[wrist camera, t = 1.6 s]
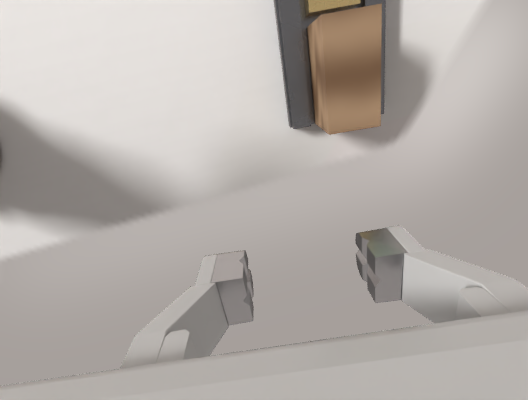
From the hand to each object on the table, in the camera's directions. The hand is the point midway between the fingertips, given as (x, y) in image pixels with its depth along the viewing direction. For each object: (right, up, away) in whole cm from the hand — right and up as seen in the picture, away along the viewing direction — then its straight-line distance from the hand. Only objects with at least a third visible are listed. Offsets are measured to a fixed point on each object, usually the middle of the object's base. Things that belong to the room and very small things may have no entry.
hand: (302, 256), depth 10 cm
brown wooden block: (+6, +16, +21) cm, 28 cm away
